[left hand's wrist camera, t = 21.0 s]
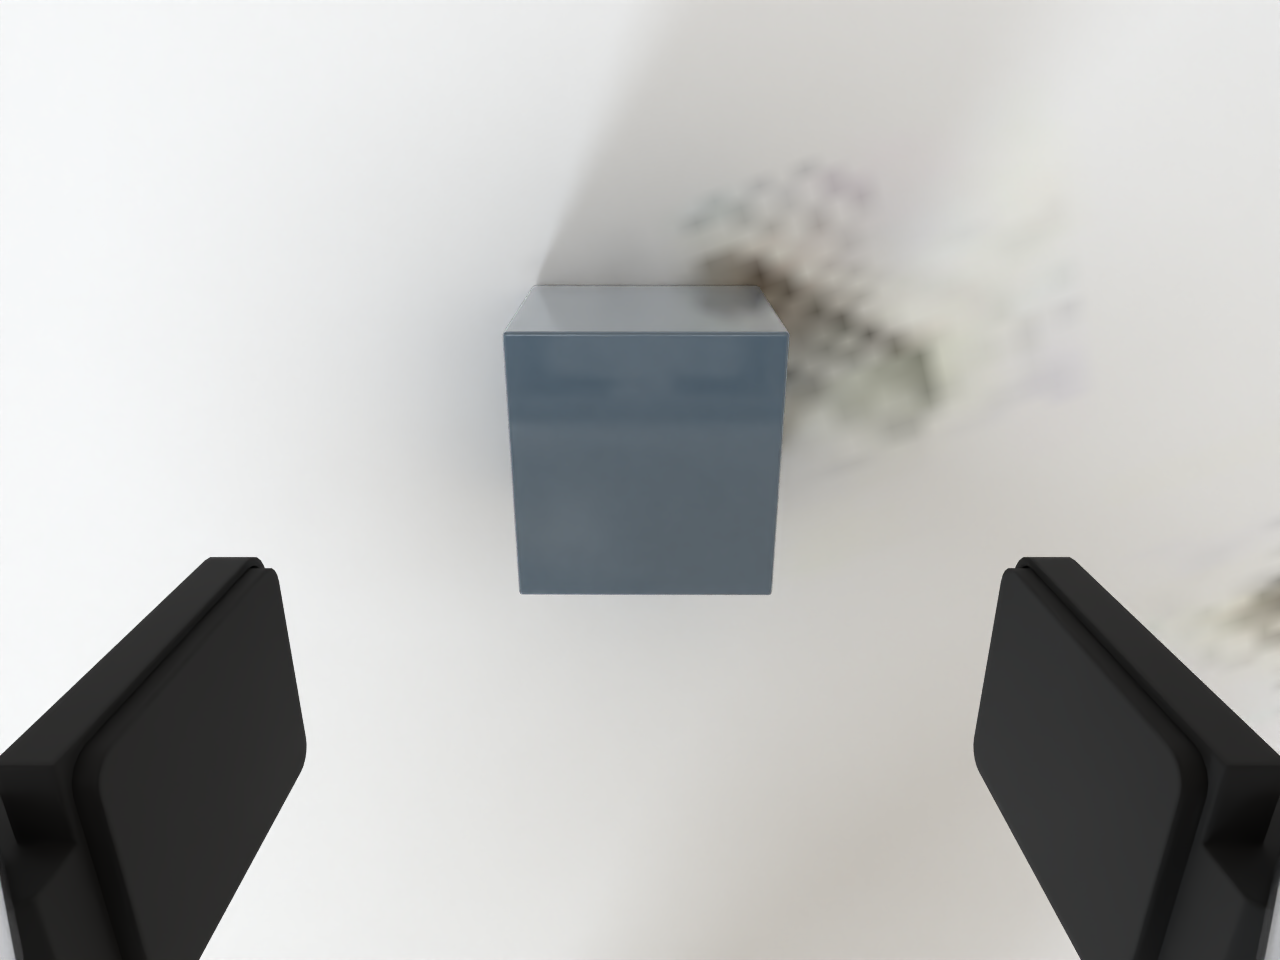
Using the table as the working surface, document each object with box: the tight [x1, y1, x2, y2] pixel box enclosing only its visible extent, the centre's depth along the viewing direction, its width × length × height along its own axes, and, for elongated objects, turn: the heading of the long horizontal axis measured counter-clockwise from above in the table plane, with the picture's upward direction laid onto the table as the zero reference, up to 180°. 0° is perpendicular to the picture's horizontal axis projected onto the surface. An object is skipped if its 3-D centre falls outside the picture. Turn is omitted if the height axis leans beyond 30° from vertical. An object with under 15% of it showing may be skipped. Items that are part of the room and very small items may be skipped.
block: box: [503, 286, 790, 595], centre depth 17 cm, size 5×5×4 cm
